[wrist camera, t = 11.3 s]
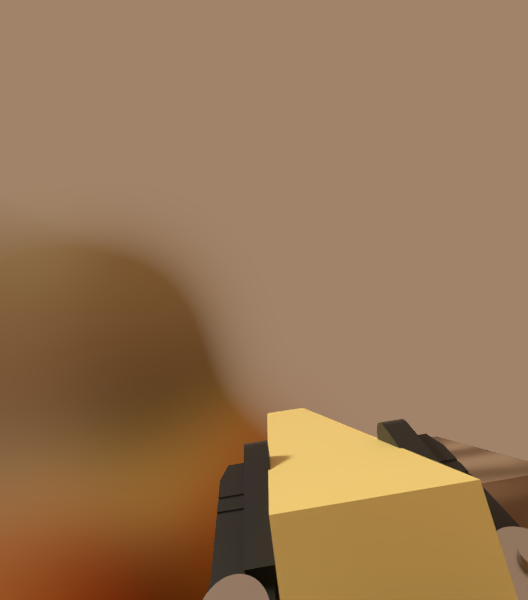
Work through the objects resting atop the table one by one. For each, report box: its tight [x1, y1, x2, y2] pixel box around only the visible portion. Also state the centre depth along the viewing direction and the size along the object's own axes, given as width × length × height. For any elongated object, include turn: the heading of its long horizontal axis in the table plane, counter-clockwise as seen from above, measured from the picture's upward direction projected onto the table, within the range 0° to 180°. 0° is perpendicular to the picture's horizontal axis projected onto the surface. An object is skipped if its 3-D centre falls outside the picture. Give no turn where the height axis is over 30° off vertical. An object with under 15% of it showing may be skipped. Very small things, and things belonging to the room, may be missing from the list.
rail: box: [267, 408, 518, 600], centre depth 17 cm, size 26×4×4 cm, turn 179°
